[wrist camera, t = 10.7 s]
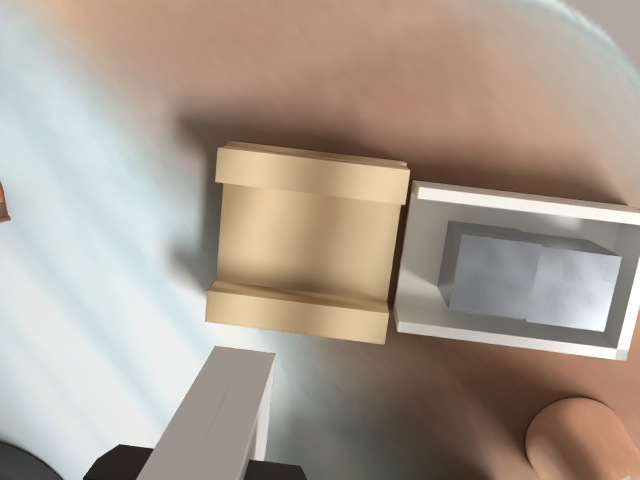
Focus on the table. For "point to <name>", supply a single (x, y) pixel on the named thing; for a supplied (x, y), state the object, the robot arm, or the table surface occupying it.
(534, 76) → the table surface
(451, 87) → the table surface
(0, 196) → the tin
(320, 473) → the table surface
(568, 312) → the chip
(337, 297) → the slot rail
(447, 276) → the grey metallic cube
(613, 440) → the silver metal cup
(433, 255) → the tray
